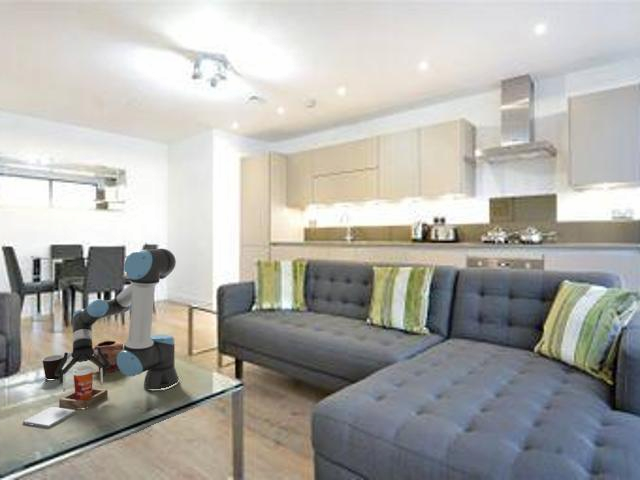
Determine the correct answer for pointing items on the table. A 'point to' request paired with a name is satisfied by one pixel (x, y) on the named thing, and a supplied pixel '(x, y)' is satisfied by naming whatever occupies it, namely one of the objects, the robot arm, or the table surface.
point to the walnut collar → (72, 403)
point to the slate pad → (49, 417)
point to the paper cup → (83, 382)
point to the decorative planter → (109, 353)
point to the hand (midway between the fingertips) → (83, 386)
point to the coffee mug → (51, 365)
